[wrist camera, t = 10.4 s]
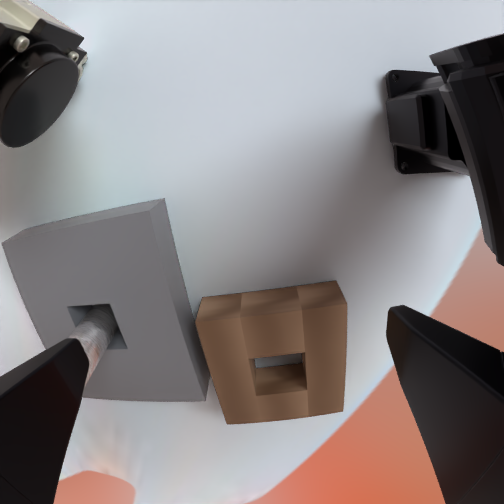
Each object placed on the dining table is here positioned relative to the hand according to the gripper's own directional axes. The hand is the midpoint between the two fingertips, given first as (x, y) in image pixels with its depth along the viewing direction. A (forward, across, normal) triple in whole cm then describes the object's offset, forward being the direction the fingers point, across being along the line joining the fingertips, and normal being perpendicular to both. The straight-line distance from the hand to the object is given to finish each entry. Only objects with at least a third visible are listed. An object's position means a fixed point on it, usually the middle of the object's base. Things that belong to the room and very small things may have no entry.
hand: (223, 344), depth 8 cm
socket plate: (+12, +10, +5) cm, 17 cm away
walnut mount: (+12, -1, +10) cm, 16 cm away
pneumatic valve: (+12, +10, -13) cm, 20 cm away
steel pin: (+12, +10, +5) cm, 17 cm away
